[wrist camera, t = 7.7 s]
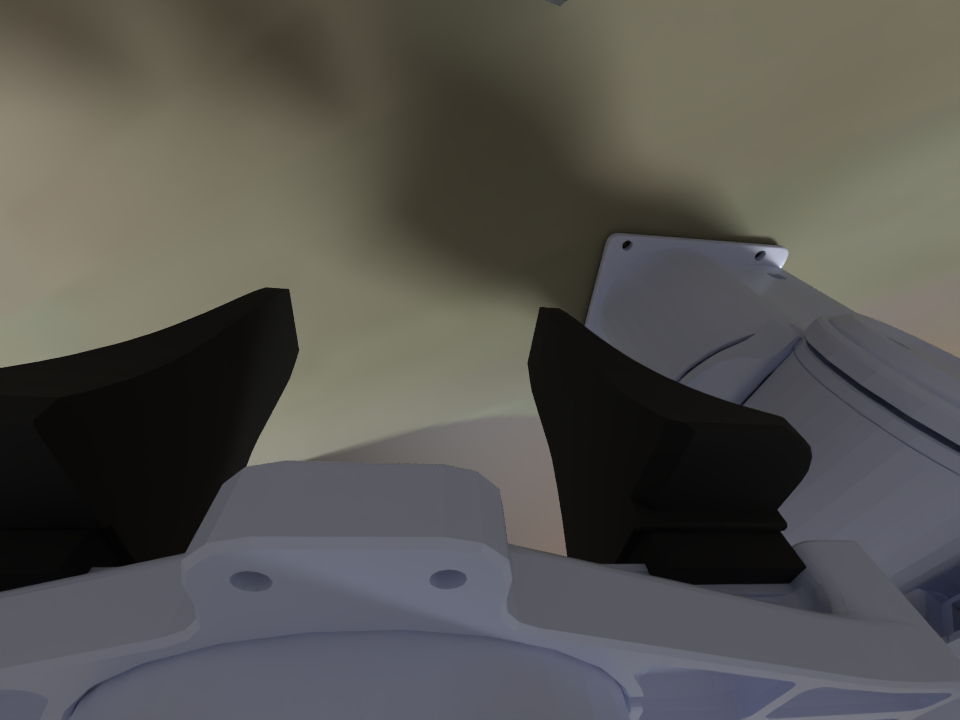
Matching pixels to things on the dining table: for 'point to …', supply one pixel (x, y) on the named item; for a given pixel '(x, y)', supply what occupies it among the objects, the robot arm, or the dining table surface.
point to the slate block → (557, 2)
